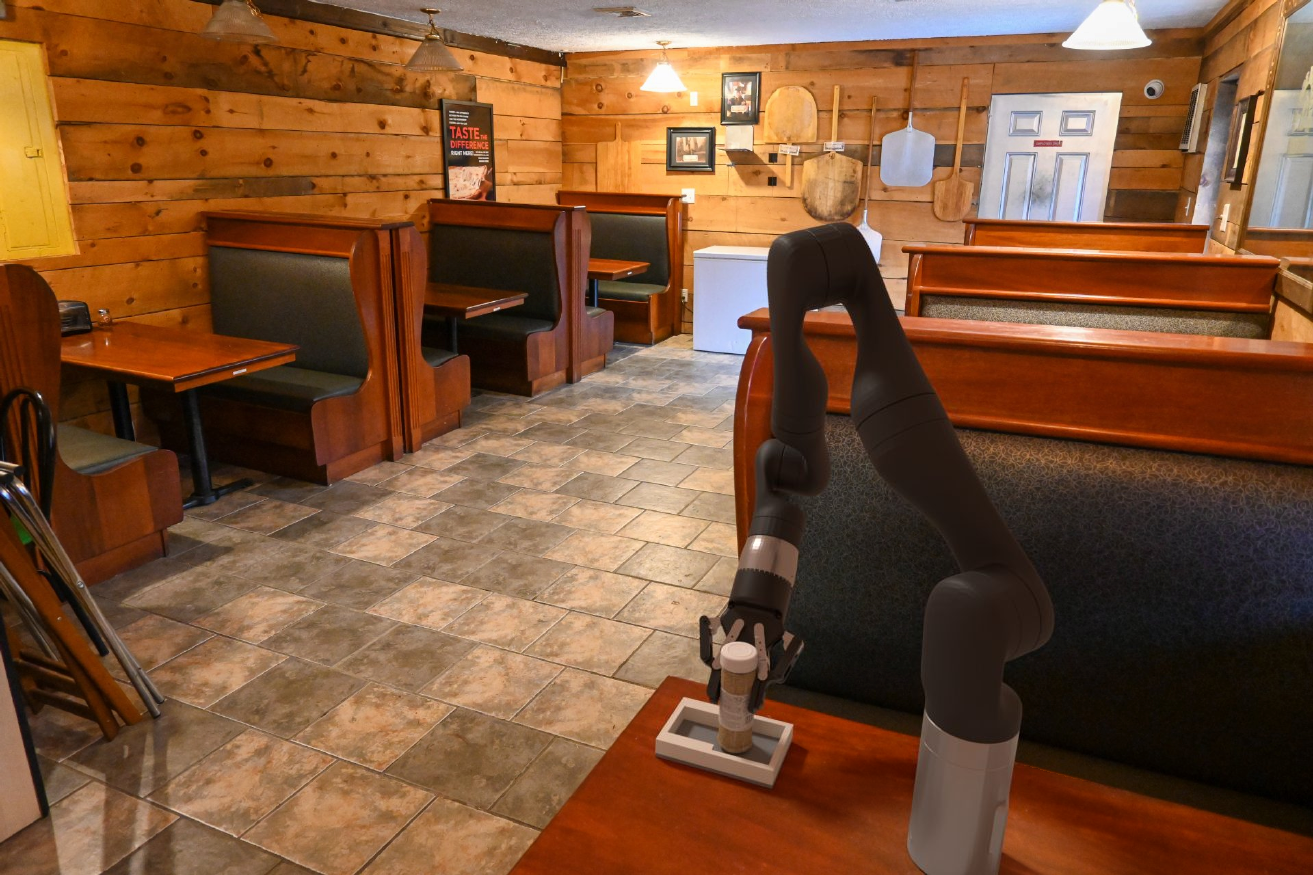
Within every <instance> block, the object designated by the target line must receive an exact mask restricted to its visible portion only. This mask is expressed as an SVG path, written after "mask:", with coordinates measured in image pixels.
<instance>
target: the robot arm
mask: <svg viewBox="0 0 1313 875" xmlns="http://www.w3.org/2000/svg"><path fill="white" fill-rule="evenodd" d="M766 288H767V289H766V290H767V302H768V315H769V319H768V320H769V329H770V330H769V331H770V337H771V338H770V340H771V349H772V358H773V359H772V360H773V376H774V377H773V392H772V404H771V405H772V406H771V415H770V430H771V433H772V435H773V437H774V438H770V439H767V440H765V441H763V443H761V445H760V446H759V447H758V449H757V451H756V453H755V456H754V480H755V481H754V482H755V502H754V510H753V515H752V518H751V523H750V527H749V530H748V535H747V538H746V542H745V544H744V546H743V548H742V551H741V554H740V557H739V561H738V565H737V568H736V573H735V576H734V580H733V583H732V587H731V590H730V595H729V600H728V603H727V607H726V608H725V610H724V612H722V614H721V615H720V616H716V617H715V616H713V617H708V616H707V615H705V614H704V615H703V614H702V615H700V617H699V619H698V620H699V621H698V622H699V623H698V625H699V630H698V631H699V658H700V660H701V661H702V663H703V664H704V665H705V666H706V667H708V668H710V670H711V672H710V675H709V679H708V684H707V687H706V696H707V697H708V698H709V702H710V704H714V705H719V699H720V688H721V667H722V666H721V663H720V657H721V649H722V647H723V646H724V645H726V644H728V643H731V642H744V643H748V644H750V645H752V646H754V647H755V648H756V650H757V652H758V665H757V669H756V674H757V678H756V679H755V680H754V684H753V689H752V693H751V697H750V701H749V705H748V711H749V713H752V714H754V715H756V714H757V712H758V711H761V710H762V709H763V707H764V703H765V700H766V695H767V691H768V687H769V686H770V685H771V684H777V683H778V684H780V685H781V684H783V683H785V681H786V680H787V678H788V676H789V674H790V673H791V671H792V669H793V668H794V666H795V664H796V662H797V660H798V658H800V655H801V653H802V652H803V650H804V648H805V644H804V641H803V639H802V637H801V636H800V635H796V634H795V635H794V634H792V633H790V632H788V631H787V629H786V625H785V621H786V617H787V612H788V608H789V604H790V600H791V595H792V591H793V586H794V585H795V582H796V575H797V574H796V573H797V569H798V560H799V559H798V558H799V551H800V548H801V543H802V539H803V534H804V531H805V526H806V521H807V520H806V519H807V517H806V514H805V512H804V511H803V509H802V508H800V507H799V506H797V505H795V503H794V504H793V503H791V502H790V501H788V500H785V499H784V498H782V497H780V496H778V495H777V493H776V492H775V491H779V492H784V493H789V494H794V495H798V496H803V497H807V498H808V497H811V498H813V497H817V496H819V495H820V494H822V493H823V492H824V491H826V489H827V487H828V485H830V481H831V476H832V464H831V457H830V453H829V449H828V445H827V441H826V440H827V439H826V436H825V422H826V414H827V407H828V402H829V401H828V399H829V383H828V379H827V375H826V373H825V371H824V368H823V366H822V365H821V363H820V361H819V360H818V359H817V357H816V356H815V354H814V353H813V351H812V350H811V348H810V347H809V345H808V343H807V341H806V339H805V336H804V335H805V334H804V322H805V319H806V318H805V317H806V314H807V312H811V311H815V310H816V311H817V310H820V309H825V308H829V307H833V306H836V305H840V304H842V306H843V307H844V309H845V310H846V312H847V314H848V316H849V318H850V321H851V323H852V326H853V329H854V333H855V336H856V342H857V348H856V349H857V354H856V360H855V366H854V373H853V379H852V383H851V384H852V385H851V391H850V402H849V406H850V407H849V408H850V409H849V410H850V417H851V420H852V423H853V426H854V428H855V432H857V435H858V437H859V439H860V441H861V443H862V446H863V448H864V450H865V452H866V454H867V457H868V458H869V461H870V463H871V464H872V466H873V468H874V470H875V471H876V472H877V474H878V475H879V476H880V478H881V479H882V480H883V481H884V482H885V483H886V484H887V485H888V486H889V487H890V488H892V490H893V491H894V492H895V493H896V494H898V495H899V496H900V497H901V498H902V499H904V500H905V501H906V502H907V503H908V504H909V505H911V506H912V507H913V508H914V509H915V510H916V511H918V512H919V513H920V514H921V515H922V516H923V517H925V519H927V520H928V521H929V522H930V523H931V525H933V526H934V528H935V529H937V531H938V532H939V534H940V535H941V536H942V539H943V540H944V541H945V542H946V544H947V545H948V547H949V549H950V551H951V553H952V555H953V556H954V559H955V561H956V563H957V565H958V568H959V569H960V572H961V573H958V574H955V575H954V574H953V575H952V576H951V575H950V576H949V577H946V578H944V579H943V580H940V581H939V582H938V583H937V584H935V586H934V588H933V589H932V590H931V592H930V594H929V597H928V598H927V603H926V607H925V611H924V621H923V633H922V634H923V635H922V649H921V664H920V679H921V683H922V684H921V685H922V687H923V690H924V695H925V700H924V701H925V703H924V710H923V718H922V725H921V726H922V727H921V732H920V733H921V734H920V741H919V742H920V743H919V749H918V756H917V764H916V772H915V780H914V787H913V793H912V794H913V795H912V802H911V808H910V809H911V810H910V811H911V812H910V818H909V824H908V831H907V833H908V834H907V839H906V840H907V841H906V842H907V843H906V844H907V847H906V848H907V851H908V854H909V856H910V858H911V859H912V862H914V863H915V865H916V866H917V867H918V868H919V869H920V870H921V871H922V872H924V873H925V874H926V875H999V870H1000V866H1001V865H1000V864H1001V858H1002V854H1003V853H1002V852H1003V847H1004V843H1005V842H1004V841H1005V835H1006V831H1007V830H1006V828H1007V823H1008V817H1009V808H1010V790H1011V785H1012V779H1013V778H1012V777H1013V773H1014V766H1015V761H1016V754H1017V749H1018V742H1019V736H1020V735H1019V734H1020V730H1021V725H1022V724H1021V723H1022V718H1023V703H1022V701H1021V698H1020V697H1019V695H1018V694H1017V692H1016V691H1015V690H1014V689H1013V688H1012V687H1010V686H1009V685H1008V684H1006V683H1005V682H1003V675H1004V669H1005V664H1006V663H1008V662H1010V661H1012V660H1014V659H1017V658H1019V657H1022V656H1024V655H1027V654H1028V653H1031V652H1033V651H1036V650H1037V649H1038V650H1039V649H1040V648H1041V647H1043V646H1044V645H1045V644H1046V643H1047V642H1049V640H1050V638H1051V636H1052V634H1053V632H1054V628H1055V611H1054V607H1053V606H1054V605H1053V603H1052V600H1051V596H1050V594H1049V592H1048V589H1047V587H1046V586H1045V584H1044V582H1043V580H1042V579H1041V576H1040V575H1039V573H1038V572H1037V569H1036V568H1035V566H1034V565H1033V563H1032V562H1031V561H1030V559H1029V558H1028V555H1026V553H1025V551H1024V550H1023V548H1022V547H1021V545H1020V543H1019V541H1018V540H1017V539H1016V538H1015V536H1014V535H1013V533H1012V531H1011V530H1010V529H1009V527H1008V525H1007V524H1006V522H1005V520H1004V519H1003V517H1002V516H1001V514H1000V512H999V511H998V509H997V508H996V505H995V504H994V502H993V501H992V499H991V497H990V496H989V495H990V494H989V493H988V492H987V489H986V488H985V486H984V484H983V482H982V480H981V479H980V476H979V474H978V473H977V471H976V469H975V468H974V466H973V464H972V462H971V459H970V458H969V457H968V455H967V452H966V451H965V449H964V447H963V445H962V443H961V441H960V439H959V436H958V435H957V432H956V431H955V428H954V426H953V423H952V421H951V420H950V417H949V415H948V413H947V411H946V410H945V407H944V405H943V403H942V402H941V400H940V398H939V396H938V394H937V392H936V390H935V388H934V386H933V384H932V383H931V381H930V379H929V378H928V376H927V374H926V373H925V370H924V369H923V366H922V365H921V363H920V361H919V359H918V357H917V355H916V352H915V350H914V349H913V346H912V344H911V342H910V341H909V338H908V336H907V335H906V333H905V330H904V328H903V325H902V323H901V321H900V319H899V317H898V313H897V312H896V309H895V307H894V304H893V302H892V300H891V297H890V294H889V292H888V291H889V290H888V289H887V287H886V284H885V281H884V279H883V276H882V273H881V270H880V269H879V265H878V263H877V260H876V258H875V256H874V253H873V251H872V249H871V247H870V245H869V243H868V241H867V240H866V238H865V237H864V235H863V234H862V232H861V231H860V230H859V229H858V227H856V226H855V225H854V224H851V223H849V222H846V221H837V222H830V223H826V224H822V225H818V226H811V227H807V228H804V229H799V230H798V229H797V230H794V231H790V232H786V233H784V234H781V235H779V236H777V237H776V238H775V239H774V240H773V241H772V244H771V245H770V247H769V250H768V254H767V260H766ZM720 627H721V628H722V630H723V633H724V635H725V637H726V638H725V639H724V641H723V642H722V644H721V645H720V648H719V651H718V653H717V655H716V656H714V642H713V641H714V640H713V636H715V635H717V633H718V629H719V628H720ZM782 640H783V642H784V643H783V644H782V646H783V649H784V652H783V654H782V656H780V659H779V661H778V663H777V664H776V666H775V668H774V669H773V670H772V669H771V670H770V665H771V663H770V651H771V650H773V648H774V647H775V646H777V645H778V644H779V643H780V642H782Z"/></svg>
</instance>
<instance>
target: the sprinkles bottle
mask: <svg viewBox="0 0 1313 875" xmlns="http://www.w3.org/2000/svg"><path fill="white" fill-rule="evenodd" d="M720 663H721V666H722V667H721V688H720V697H719V701H718V706H719V735H718V737H717V741H718V744H719V746H720V747H721V748H722V749H724V750H726V751H728V752H731V753H742V752H745V751H747V750H749V749H750V748H751V746H752V743H753V740H752V727H753V722H754V715H755V714H752V713H749V711H748V705H749V701H750V697H751V693H752V689H753V684H754V680H756V675H757V665H758V652H757V650H756V648H755V647H754V646H752V645H750V644H748V643H744V642H731V643H728V644H726V645H724V646H723V647H722V649H721V657H720Z"/></svg>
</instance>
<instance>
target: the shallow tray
mask: <svg viewBox="0 0 1313 875" xmlns="http://www.w3.org/2000/svg"><path fill="white" fill-rule="evenodd" d="M793 734H794V724H793V723H788V722H785V721H780V720H777V719H773V718H770V717H766V716H761V715H758V714H757V715H756V714H754V722H753V727H752V740H753V743H752V746H751V748H750V749H749V750H747V751H745V752H742V753H731V752H728V751H726V750H724V749H722V748H721V747H720V746H719V744H718V741H717V737H718V735H719V704H713V703H711V702H710V703H709V702H706V701H701V700H697V699H693V698H689V697H685V696H683V697H682V699H681V701H680V702H679V704H678V705H677V706H676V708H675V710H674V711H673V712H672V714H671V716H670V717H669V718H668V720H667V722H666V723H665V724H664V726H663V727H662V729H661V731H660V732H659V734H658V735H657V737H656V738H655V752H654V753H655V754H654V756H655V757H656V758H657V757H658V758H660V759H664V760H667V761H672V762H675V763H679V764H682V765H685V766H689V767H693V768H696V769H700V770H704V771H707V772H711V773H714V774H718V775H721V776H724V777H725V776H726V777H728V778H732V779H736V780H739V781H742V782H746V783H749V784H753V785H757V786H761V787H764V788H768V789H770V790H772V789H773V787H774V785H775V783H776V781H777V778H778V776H779V773H780V771H781V769H782V766H783V764H784V761H785V759H786V758H787V757H786V756H787V754H788V752H789V749H790V747H791V744H792V742H793Z"/></svg>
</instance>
